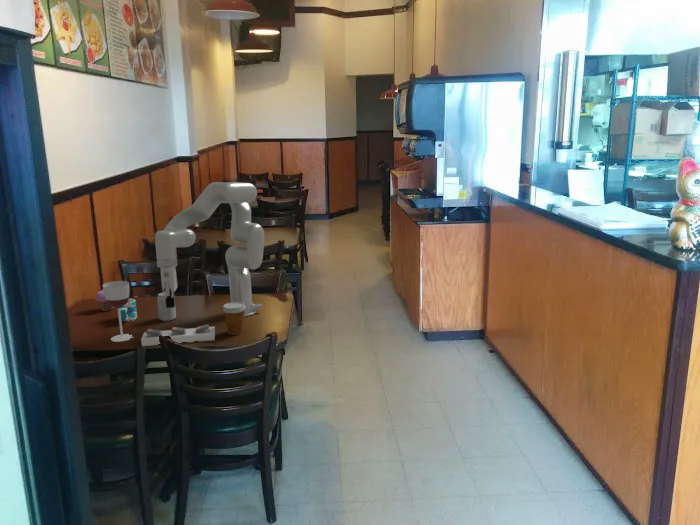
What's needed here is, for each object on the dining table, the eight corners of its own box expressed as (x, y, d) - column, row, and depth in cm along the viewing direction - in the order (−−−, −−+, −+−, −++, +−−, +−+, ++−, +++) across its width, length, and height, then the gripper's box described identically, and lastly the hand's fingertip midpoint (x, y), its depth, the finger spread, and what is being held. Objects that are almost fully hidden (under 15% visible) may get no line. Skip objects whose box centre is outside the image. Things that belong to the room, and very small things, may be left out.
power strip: (215, 333, 239) (214, 326, 238) (214, 340, 231) (213, 332, 231) (144, 339, 234) (144, 332, 233) (141, 346, 226) (141, 339, 225)
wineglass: (113, 334, 240) (106, 281, 234) (137, 333, 241) (131, 280, 235) (106, 342, 231) (99, 287, 226) (131, 341, 232) (125, 286, 226)
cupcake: (118, 310, 271) (116, 290, 269) (99, 314, 266) (96, 293, 264) (114, 305, 278) (112, 286, 276) (95, 309, 274) (92, 289, 271)
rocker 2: (209, 326, 234) (208, 323, 234) (208, 328, 231) (208, 326, 231) (197, 329, 234) (196, 327, 233) (196, 332, 231) (195, 329, 230)
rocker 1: (160, 332, 231) (160, 330, 231) (159, 335, 228) (159, 332, 228) (147, 331, 230) (147, 328, 230) (146, 333, 227) (146, 331, 227)
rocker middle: (184, 330, 233) (185, 328, 232) (184, 333, 230) (184, 330, 229) (172, 329, 232) (172, 326, 231) (171, 331, 228) (171, 329, 228)
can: (171, 322, 254) (168, 296, 251) (155, 321, 255) (153, 295, 252) (179, 316, 261) (177, 291, 258) (164, 315, 262) (161, 290, 259)
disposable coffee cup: (226, 337, 233) (224, 309, 231) (222, 330, 242) (220, 303, 239) (249, 334, 237) (248, 306, 234) (244, 327, 246) (242, 300, 243)
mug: (139, 315, 264) (137, 298, 262) (133, 324, 252) (131, 306, 250) (120, 316, 263) (118, 299, 261) (113, 325, 251) (111, 307, 249)
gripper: (175, 265, 218) (178, 312, 222) (179, 257, 232) (182, 301, 236) (154, 266, 217) (158, 313, 221) (159, 258, 231) (163, 302, 235)
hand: (170, 306), depth 228 cm, fingers closed
